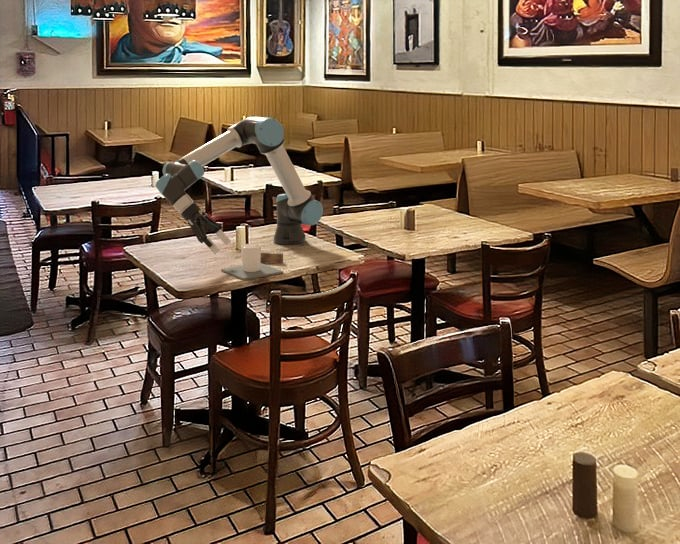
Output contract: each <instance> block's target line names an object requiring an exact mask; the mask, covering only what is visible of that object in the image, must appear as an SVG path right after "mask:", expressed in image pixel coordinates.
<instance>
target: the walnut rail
mask: <svg viewBox="0 0 680 544" xmlns="http://www.w3.org/2000/svg"><path fill="white" fill-rule="evenodd" d="M266 262H270V263H271V264H279V265H281V264H283V263H284V253H282V252H268V251H261V261H260V263H266ZM270 263H269V264H270Z"/></svg>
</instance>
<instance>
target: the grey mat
mask: <svg viewBox="0 0 680 544" xmlns="http://www.w3.org/2000/svg"><path fill="white" fill-rule="evenodd" d="M223 271H224V272H223ZM221 272H223V273H225V272H226V273H225V274H227V273H228V274H227V275H230V276H232V277H235V278H237V279H239V280H242V281H246V280H252V279H253V280H254V279H258V278H264V277H269V276H274V275H280V274H283V273H284V270H281V269H277V268H276V267H272V266H270V265H267V264H264V263H263V262H260V270H259V271H256V272H246V271H244V270H243V264H242V265H236V266H232V267H224V268H221Z"/></svg>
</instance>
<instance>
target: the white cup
mask: <svg viewBox="0 0 680 544" xmlns="http://www.w3.org/2000/svg"><path fill="white" fill-rule="evenodd" d="M261 249H262V247H261V244H259V243H246V244H245V243H244V244H242V245H240V250H241V251H240V252H241V254H240V255H241V263H242V265H243V270H244V271H246V272H256V271H259V270H260V263H261V262H260V261H261V252H262V250H261Z"/></svg>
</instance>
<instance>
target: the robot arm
mask: <svg viewBox="0 0 680 544" xmlns="http://www.w3.org/2000/svg"><path fill="white" fill-rule="evenodd" d="M226 130H227V131H226V132H224V133H222V134H220V135H218V136H217V137H215V138H213V139H212V140H210V141H208V142H207V143H205V144H203V145H201V146H199V147H198V148H196V149H194V150H192V151H191V152H189V153H188V154H186V155H184V156H183V157H180V158H179V159H176V160H174V161H168V162H166V163H165V164H164V165H163V167H162V174H163V175H162V176H161V177H160V178H158V180H157V181H156V182H155V188H156V189H157V190H158V192H159V193H160V194H161V195H162V197H164V198H165V200H167V201H168V202H169V204H170V205H171V206H172V207H173V208H174V210H175V211H177V213H178V214H180V216H181V217H182V218H183V220H185V221H186V222H187V225H188V226H189V227H190V229H191V230H192V232H193V234H194V235H195V237H196V239H197V240H198V242H199V243H200V244H203V243H204V245H205V246H206V247H208V250H209V249H210V251H211V252H212V253H213V254H214V255H216V254H218V252H219V251H221V249H220V248H219V247H218V246H217V244H216V243H215V242H214V241H213V240H212V239H211V238H210V237H208V236H207V233H206V230H205V228H208V230H211V231H213V232H215V235H216V236H217V238H219V240H220V241H221V242H223V244H224V245H225V246H228V245H229V244H230V243H231V242H232V240H231V239H230V238H229V237H228V236H227V235H226V234H225V232H224V231H223V230H222V228H223V227H222V226H221V224H220V223H218V222H217V221H215V220H214V219H213V218H212V217H210V216H209V215H208V214H206V213H205V212H204V211H202V212H201V213H200V211H201V207H200V206H199V205H198V204H197V203H196V202H194V199H192V198H191V196H190V195H189V194H188V193H187V192H186V190H187V189H188V188H190V187H191V186H193V184H195V183H196V182H197V181H198V180H201V178H202V177H203V176H204V175H205V170H204V168H203V167H204V166H206V165H208V164H209V163H211V162H212V161H215V160H216V159H217V158H220V157H221V156H223V155H225V154H226V153H228V152H230V151H231V150H233V149H235V148H242V147H243V146H245V145H250V144H253V145H255V146H256V148H258V151H259V153H260V154H261V155H264V156H266V159H267V161H268V162H269V164H270V166H271V168H272V169H273V172H274V174H275V176H276V177H277V179H278V180H279V183H280V184H281V187H282V189H283V190H284V192H285V193H280V194H278V195H277V196H276V202H275V203H276V228H275V232H274V236H273V243H275V244H276V245H286V246H290V245H301V244H304V243H306V242H307V239H306V238H307V237H306V234H305V231H304V228H303V225H305V226H314V225H316V224H318V223H319V222H320V221H321V219H322V217H323V214H324V208H323V204H322V203H321V201H318V200H317V199H315V198H314V196H313V194H312V193H311V192H312V191H311V190H308V189H306V188H305V186H304V184H303V182H302V180H301V178H300V176H299V174H298V172H297V170H296V169H295V168H296V167H294V164H293V162H292V161H291V159H290V156H289V154H288V153H287V150H286V148H285V147H284V145H285V139H284V134H285V131H284V127H283V125H282V123H281V122H280V121H279V120H278V119H276V118H273V117H271V116H270V117H269V116H262V117H261V116H255V115H253V116H252V115H251V116H248V117H247V118H246V117H245V118H244V119H241V120H240V121H238V122H236V123H234V124H233V125H231V126H230V127H228V128H227V129H226Z"/></svg>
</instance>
